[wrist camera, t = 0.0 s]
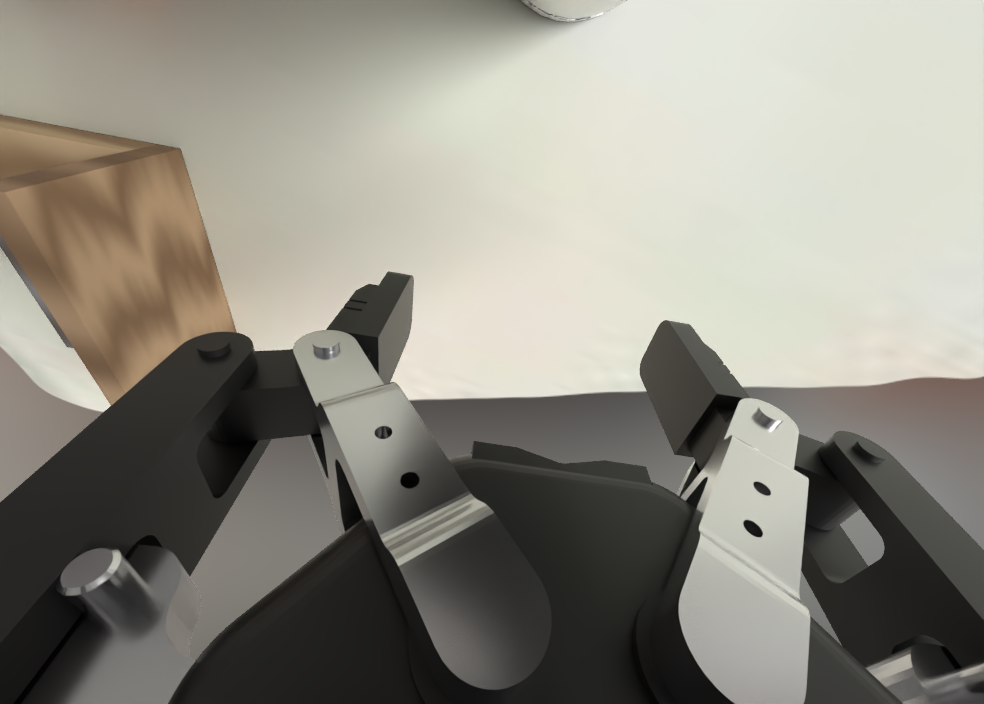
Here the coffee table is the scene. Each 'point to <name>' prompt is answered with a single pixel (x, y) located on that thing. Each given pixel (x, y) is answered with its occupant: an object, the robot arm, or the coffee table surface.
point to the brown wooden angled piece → (108, 246)
